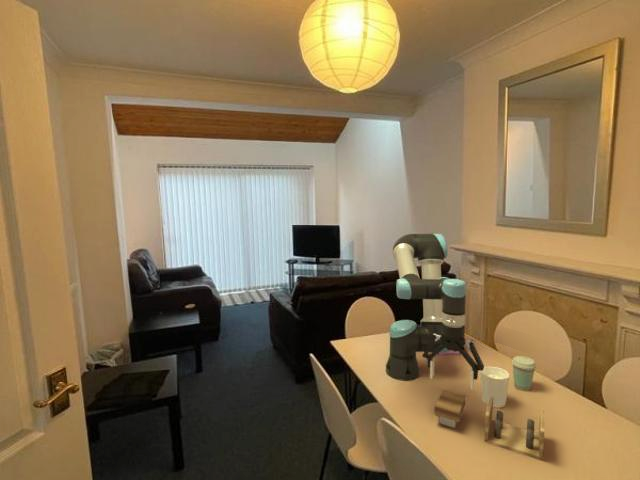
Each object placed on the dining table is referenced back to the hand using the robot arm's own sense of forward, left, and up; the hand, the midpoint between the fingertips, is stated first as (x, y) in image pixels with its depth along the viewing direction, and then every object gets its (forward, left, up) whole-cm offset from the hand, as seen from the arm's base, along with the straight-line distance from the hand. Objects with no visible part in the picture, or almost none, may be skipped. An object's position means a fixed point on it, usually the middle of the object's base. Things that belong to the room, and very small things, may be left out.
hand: (451, 382), depth 122 cm
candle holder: (+12, +20, -15) cm, 28 cm away
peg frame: (+20, 0, -15) cm, 25 cm away
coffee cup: (+21, +37, -15) cm, 45 cm away
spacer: (0, 0, -15) cm, 15 cm away
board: (0, 0, -11) cm, 11 cm away
